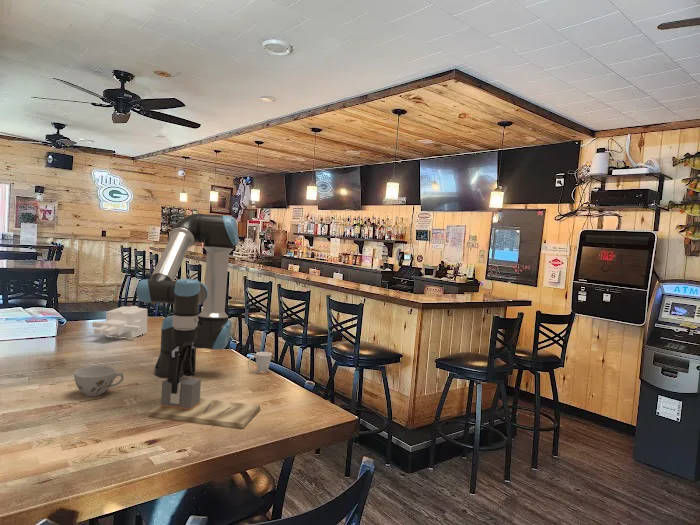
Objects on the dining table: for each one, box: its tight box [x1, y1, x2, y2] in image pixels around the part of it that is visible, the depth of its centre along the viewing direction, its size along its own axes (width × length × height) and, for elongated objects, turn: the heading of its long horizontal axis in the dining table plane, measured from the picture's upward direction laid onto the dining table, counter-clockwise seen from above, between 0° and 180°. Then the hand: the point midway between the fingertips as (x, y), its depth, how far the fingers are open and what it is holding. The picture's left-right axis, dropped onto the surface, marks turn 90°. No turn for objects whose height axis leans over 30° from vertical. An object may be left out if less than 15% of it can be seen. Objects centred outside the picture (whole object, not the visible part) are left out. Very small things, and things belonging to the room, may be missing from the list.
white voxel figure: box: [91, 305, 148, 338], centre depth 237 cm, size 15×25×28 cm
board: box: [148, 397, 261, 430], centre depth 147 cm, size 30×16×2 cm, turn 83°
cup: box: [247, 351, 273, 374], centre depth 195 cm, size 7×10×8 cm
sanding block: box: [160, 377, 202, 410], centre depth 148 cm, size 10×6×8 cm, turn 83°
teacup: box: [73, 365, 125, 397], centre depth 157 cm, size 15×12×8 cm
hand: (180, 399), depth 148 cm, fingers open, 6 cm apart
